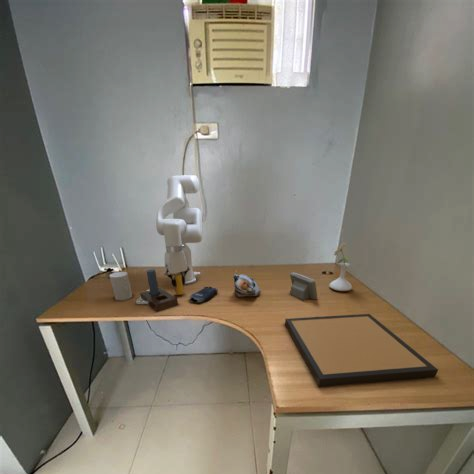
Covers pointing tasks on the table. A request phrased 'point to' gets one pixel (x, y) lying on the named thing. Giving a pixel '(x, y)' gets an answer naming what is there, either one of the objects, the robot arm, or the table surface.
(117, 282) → the cup
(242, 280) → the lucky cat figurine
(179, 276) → the mustard peg
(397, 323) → the table surface
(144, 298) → the stand
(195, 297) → the electronic device
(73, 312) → the table surface
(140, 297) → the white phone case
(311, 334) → the cork board
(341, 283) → the flower in vase
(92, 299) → the table surface
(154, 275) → the blue peg
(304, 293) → the digital clock
